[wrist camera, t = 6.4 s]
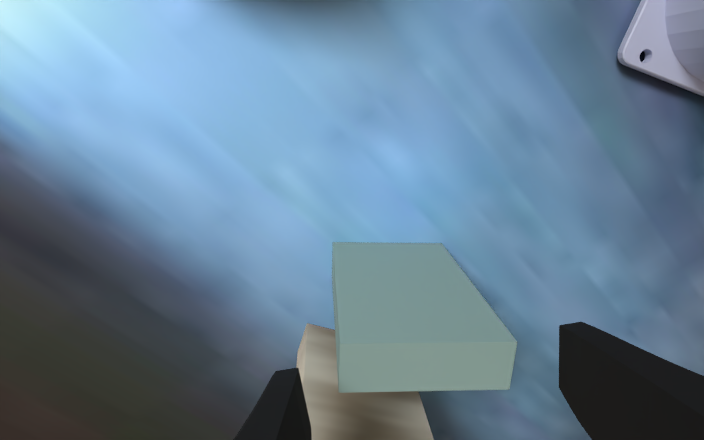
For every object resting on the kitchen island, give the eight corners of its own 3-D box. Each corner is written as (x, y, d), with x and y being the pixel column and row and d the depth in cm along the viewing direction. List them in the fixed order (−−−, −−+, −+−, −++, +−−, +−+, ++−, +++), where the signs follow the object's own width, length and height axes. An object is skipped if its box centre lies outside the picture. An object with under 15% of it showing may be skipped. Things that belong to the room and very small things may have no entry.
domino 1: (441, 243, 20) (517, 341, 12) (438, 275, 20) (509, 389, 13) (332, 242, 19) (339, 343, 12) (332, 274, 20) (338, 392, 12)
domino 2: (404, 347, 21) (451, 493, 14) (393, 373, 22) (432, 530, 14) (307, 323, 20) (298, 464, 13) (297, 351, 21) (284, 503, 13)
